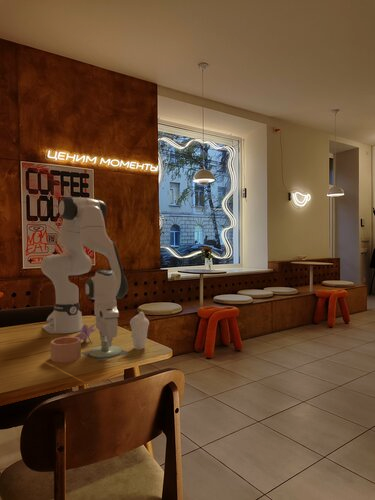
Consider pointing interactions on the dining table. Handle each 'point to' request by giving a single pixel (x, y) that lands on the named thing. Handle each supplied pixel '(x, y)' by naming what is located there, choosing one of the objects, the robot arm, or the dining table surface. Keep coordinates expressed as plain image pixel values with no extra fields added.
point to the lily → (86, 332)
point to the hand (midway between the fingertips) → (105, 343)
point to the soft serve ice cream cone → (139, 330)
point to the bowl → (65, 349)
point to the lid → (104, 351)
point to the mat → (103, 358)
